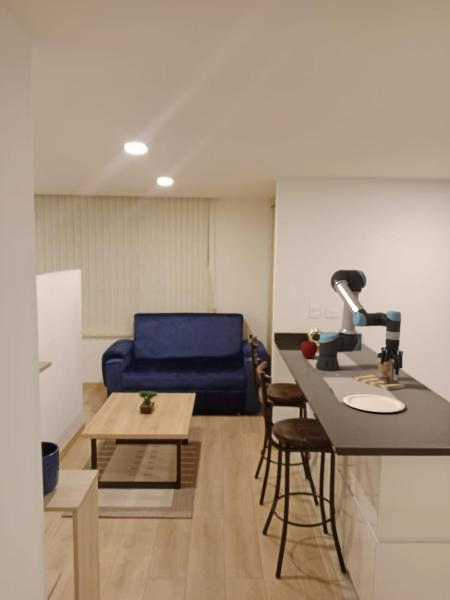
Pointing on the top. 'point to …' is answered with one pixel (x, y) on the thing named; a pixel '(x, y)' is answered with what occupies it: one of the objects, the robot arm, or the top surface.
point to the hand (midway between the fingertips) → (390, 378)
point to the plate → (374, 403)
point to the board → (378, 382)
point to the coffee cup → (380, 366)
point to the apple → (308, 349)
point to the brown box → (388, 372)
